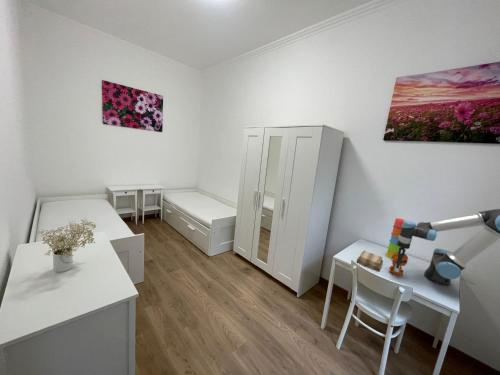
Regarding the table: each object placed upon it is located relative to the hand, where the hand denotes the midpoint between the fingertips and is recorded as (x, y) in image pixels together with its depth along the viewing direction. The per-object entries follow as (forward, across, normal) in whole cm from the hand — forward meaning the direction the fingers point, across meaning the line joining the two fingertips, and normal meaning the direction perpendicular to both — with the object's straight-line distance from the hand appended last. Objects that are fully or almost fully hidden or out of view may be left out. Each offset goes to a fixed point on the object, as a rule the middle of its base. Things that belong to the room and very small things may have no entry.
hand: (397, 267), depth 161 cm
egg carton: (+5, 0, -18) cm, 19 cm away
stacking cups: (+5, -30, -6) cm, 31 cm away
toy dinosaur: (+5, 0, 0) cm, 5 cm away
